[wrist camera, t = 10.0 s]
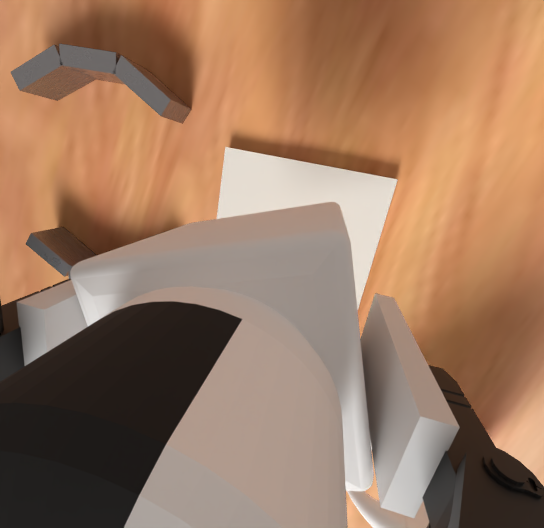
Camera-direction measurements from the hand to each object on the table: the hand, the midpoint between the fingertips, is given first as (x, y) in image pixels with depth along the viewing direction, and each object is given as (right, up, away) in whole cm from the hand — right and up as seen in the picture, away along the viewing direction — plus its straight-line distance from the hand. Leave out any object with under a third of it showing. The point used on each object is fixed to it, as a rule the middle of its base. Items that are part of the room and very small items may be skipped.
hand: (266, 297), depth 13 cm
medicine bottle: (0, 0, +1) cm, 2 cm away
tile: (+2, +3, +10) cm, 11 cm away
